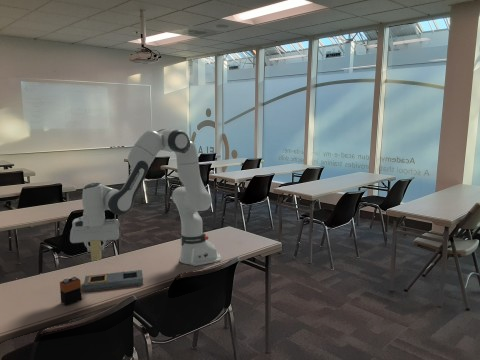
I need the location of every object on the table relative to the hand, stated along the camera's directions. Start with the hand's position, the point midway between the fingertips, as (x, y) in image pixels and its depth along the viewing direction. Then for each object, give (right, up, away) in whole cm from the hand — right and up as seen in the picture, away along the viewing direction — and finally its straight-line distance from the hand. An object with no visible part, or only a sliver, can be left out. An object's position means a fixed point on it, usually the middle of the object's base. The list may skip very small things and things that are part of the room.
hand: (95, 250), depth 165 cm
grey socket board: (+7, -16, +5) cm, 18 cm away
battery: (-5, -19, -12) cm, 23 cm away
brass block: (0, -4, +1) cm, 4 cm away
